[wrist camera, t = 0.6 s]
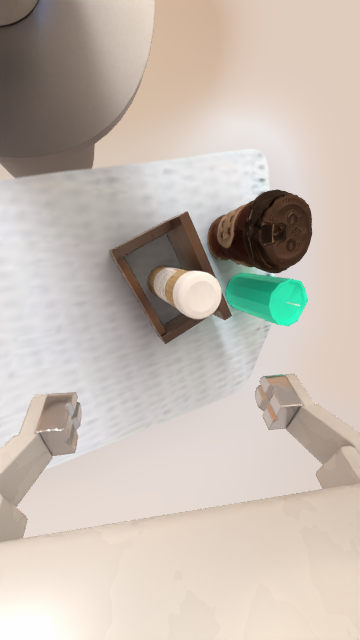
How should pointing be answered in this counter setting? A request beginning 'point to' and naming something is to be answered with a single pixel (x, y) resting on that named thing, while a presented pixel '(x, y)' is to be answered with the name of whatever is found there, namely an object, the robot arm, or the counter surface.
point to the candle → (267, 297)
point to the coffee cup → (264, 232)
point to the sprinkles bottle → (186, 290)
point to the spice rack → (190, 259)
